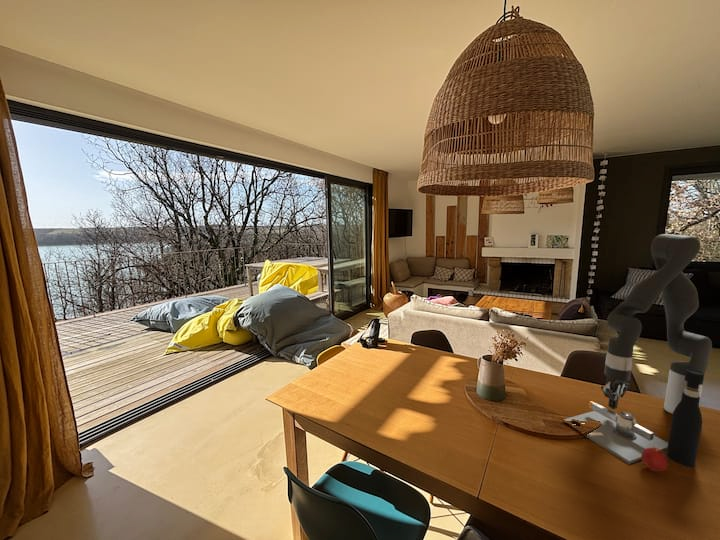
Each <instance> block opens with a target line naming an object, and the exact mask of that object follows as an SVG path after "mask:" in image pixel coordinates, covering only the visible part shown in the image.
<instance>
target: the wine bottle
mask: <svg viewBox="0 0 720 540" xmlns="http://www.w3.org/2000/svg"><path fill="white" fill-rule="evenodd" d="M704 378H705V374H704V373H702V372H700V371H697V370H692V369H687V370H686V373H685V379H684V380H685V381H687V385H686V386H687V387H685V389H684V392H683V393H682V399H681V401H680V402H679V404H678V405H677V406H676V408H675V410H674V412H673V414H672V416H671V423H670V430H669V436H668V441H667V442H668V448H667V450H666V456H667V458H669V460H671V461H673V462H675V463H677V464H679V465H681V466H684V467H689V468H691V467H692V468H693V467H695V466H696V462H697V456H698V452H699V444H700V439H701V434H702V427H703V416H702V412H701V408H700V403H699V401H701V397H699V394H700V393H699V385H702V384H704Z"/></svg>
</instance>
